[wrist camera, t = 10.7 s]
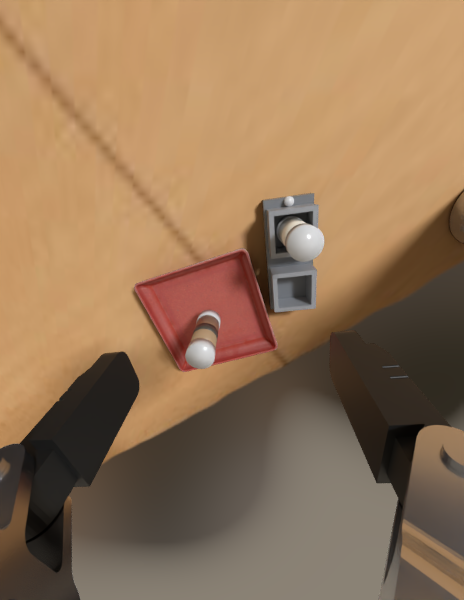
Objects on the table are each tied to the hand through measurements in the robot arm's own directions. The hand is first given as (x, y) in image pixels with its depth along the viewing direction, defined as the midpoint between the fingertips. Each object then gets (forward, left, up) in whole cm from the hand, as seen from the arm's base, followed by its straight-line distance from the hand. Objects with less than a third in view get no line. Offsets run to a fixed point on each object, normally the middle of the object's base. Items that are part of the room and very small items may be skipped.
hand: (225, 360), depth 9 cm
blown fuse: (+6, +12, -24) cm, 27 cm away
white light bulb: (-7, 0, -25) cm, 26 cm away
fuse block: (-7, +4, -27) cm, 28 cm away
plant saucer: (+6, +12, -27) cm, 31 cm away
